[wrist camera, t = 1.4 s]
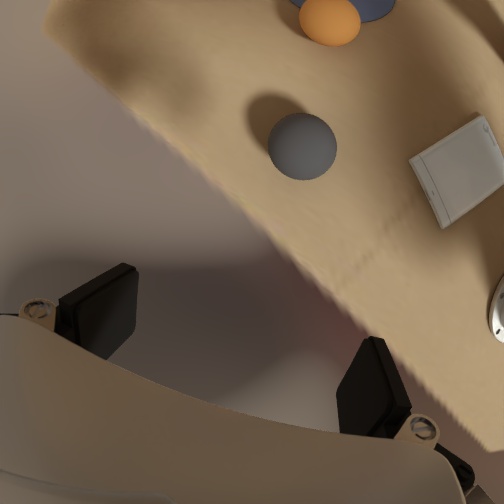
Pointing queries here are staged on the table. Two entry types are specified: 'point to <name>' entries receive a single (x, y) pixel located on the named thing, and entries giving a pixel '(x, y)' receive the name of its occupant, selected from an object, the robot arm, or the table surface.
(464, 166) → the hard drive
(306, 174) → the gray ball
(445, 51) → the table surface
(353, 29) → the object ball
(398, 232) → the table surface
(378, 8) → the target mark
